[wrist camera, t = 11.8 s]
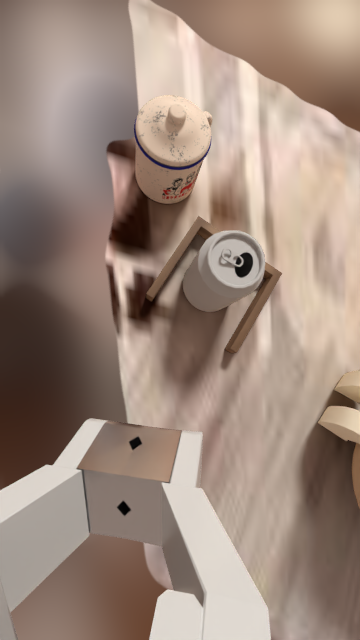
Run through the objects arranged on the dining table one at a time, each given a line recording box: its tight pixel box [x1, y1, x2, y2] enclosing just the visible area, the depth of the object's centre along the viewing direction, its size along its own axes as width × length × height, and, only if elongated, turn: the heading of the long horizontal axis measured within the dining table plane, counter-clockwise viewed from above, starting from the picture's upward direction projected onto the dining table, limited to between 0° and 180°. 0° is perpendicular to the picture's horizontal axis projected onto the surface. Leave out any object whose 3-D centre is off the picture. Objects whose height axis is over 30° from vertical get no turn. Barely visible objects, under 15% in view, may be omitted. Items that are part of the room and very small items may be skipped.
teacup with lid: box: [134, 95, 212, 204], centre depth 37 cm, size 12×9×12 cm
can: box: [183, 231, 265, 312], centre depth 35 cm, size 8×8×12 cm
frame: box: [146, 216, 282, 353], centre depth 40 cm, size 14×13×2 cm
